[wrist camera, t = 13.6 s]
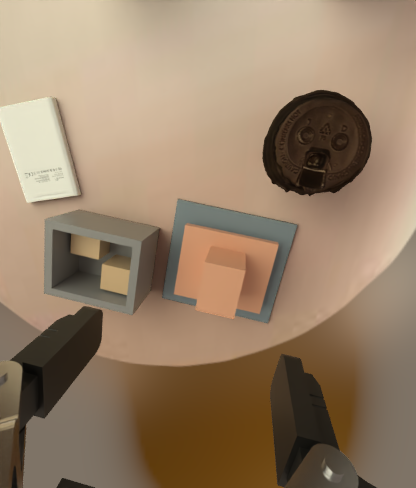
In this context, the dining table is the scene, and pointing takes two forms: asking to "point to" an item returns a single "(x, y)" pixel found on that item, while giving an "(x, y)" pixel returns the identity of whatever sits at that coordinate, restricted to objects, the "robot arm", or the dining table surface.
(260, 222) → the mat
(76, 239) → the storage box
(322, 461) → the robot arm
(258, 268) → the lid
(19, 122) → the external hard drive
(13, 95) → the dining table surface
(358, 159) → the coffee cup
